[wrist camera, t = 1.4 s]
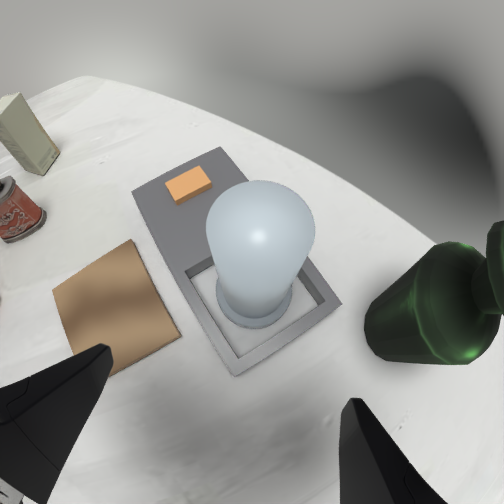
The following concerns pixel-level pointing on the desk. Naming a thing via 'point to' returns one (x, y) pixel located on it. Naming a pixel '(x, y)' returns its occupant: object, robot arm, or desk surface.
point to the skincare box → (25, 135)
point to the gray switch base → (198, 250)
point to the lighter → (17, 212)
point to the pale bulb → (258, 249)
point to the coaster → (115, 308)
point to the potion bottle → (442, 306)
